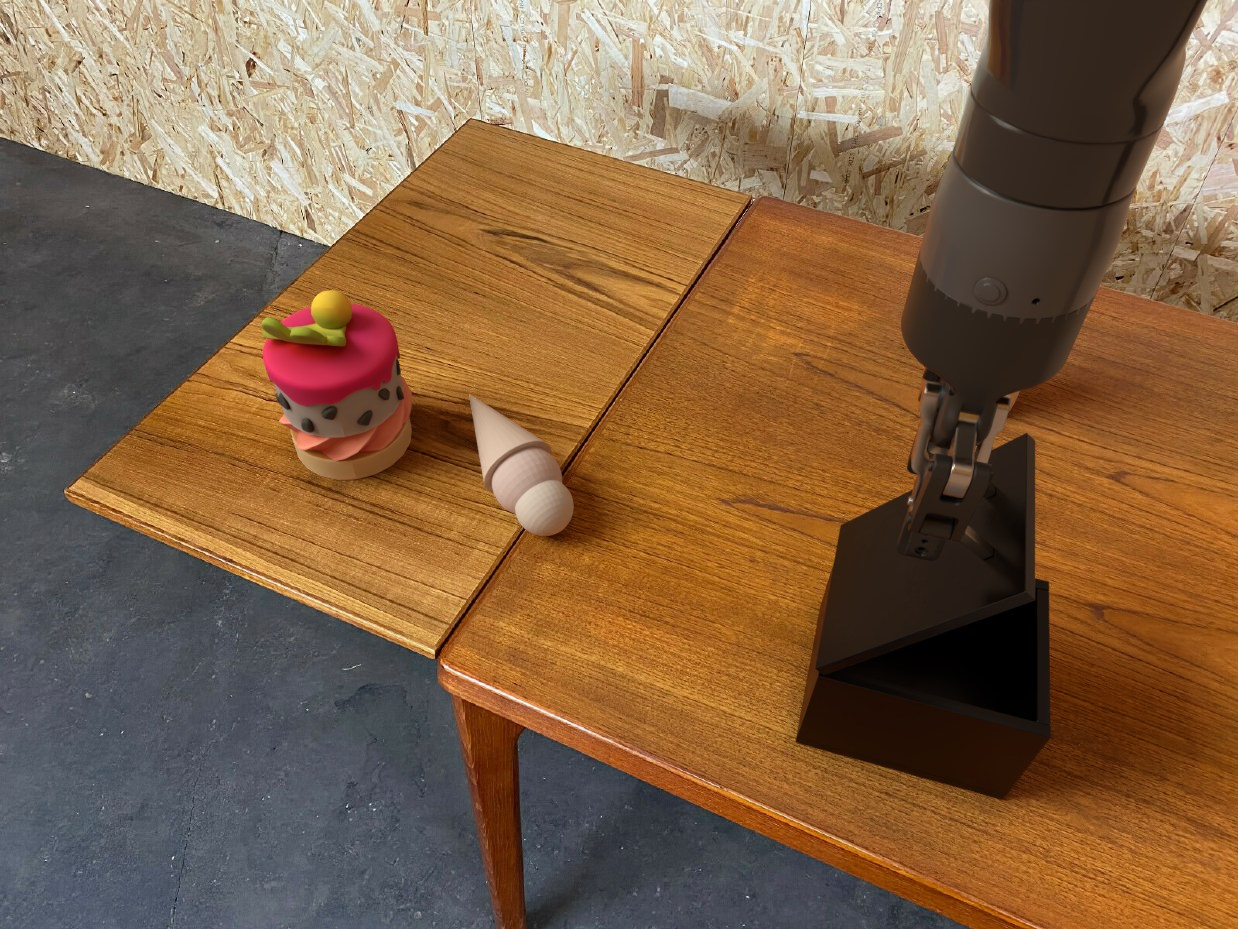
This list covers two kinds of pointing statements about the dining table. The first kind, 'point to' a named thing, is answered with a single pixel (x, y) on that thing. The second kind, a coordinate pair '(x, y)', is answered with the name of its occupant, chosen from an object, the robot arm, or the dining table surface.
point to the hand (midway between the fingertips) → (921, 509)
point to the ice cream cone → (521, 472)
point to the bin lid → (932, 568)
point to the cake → (339, 386)
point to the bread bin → (942, 702)
